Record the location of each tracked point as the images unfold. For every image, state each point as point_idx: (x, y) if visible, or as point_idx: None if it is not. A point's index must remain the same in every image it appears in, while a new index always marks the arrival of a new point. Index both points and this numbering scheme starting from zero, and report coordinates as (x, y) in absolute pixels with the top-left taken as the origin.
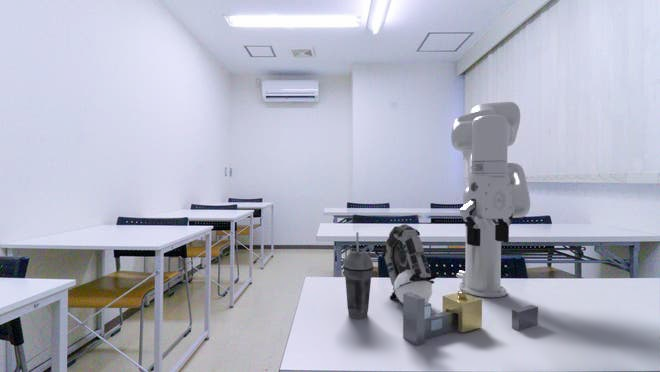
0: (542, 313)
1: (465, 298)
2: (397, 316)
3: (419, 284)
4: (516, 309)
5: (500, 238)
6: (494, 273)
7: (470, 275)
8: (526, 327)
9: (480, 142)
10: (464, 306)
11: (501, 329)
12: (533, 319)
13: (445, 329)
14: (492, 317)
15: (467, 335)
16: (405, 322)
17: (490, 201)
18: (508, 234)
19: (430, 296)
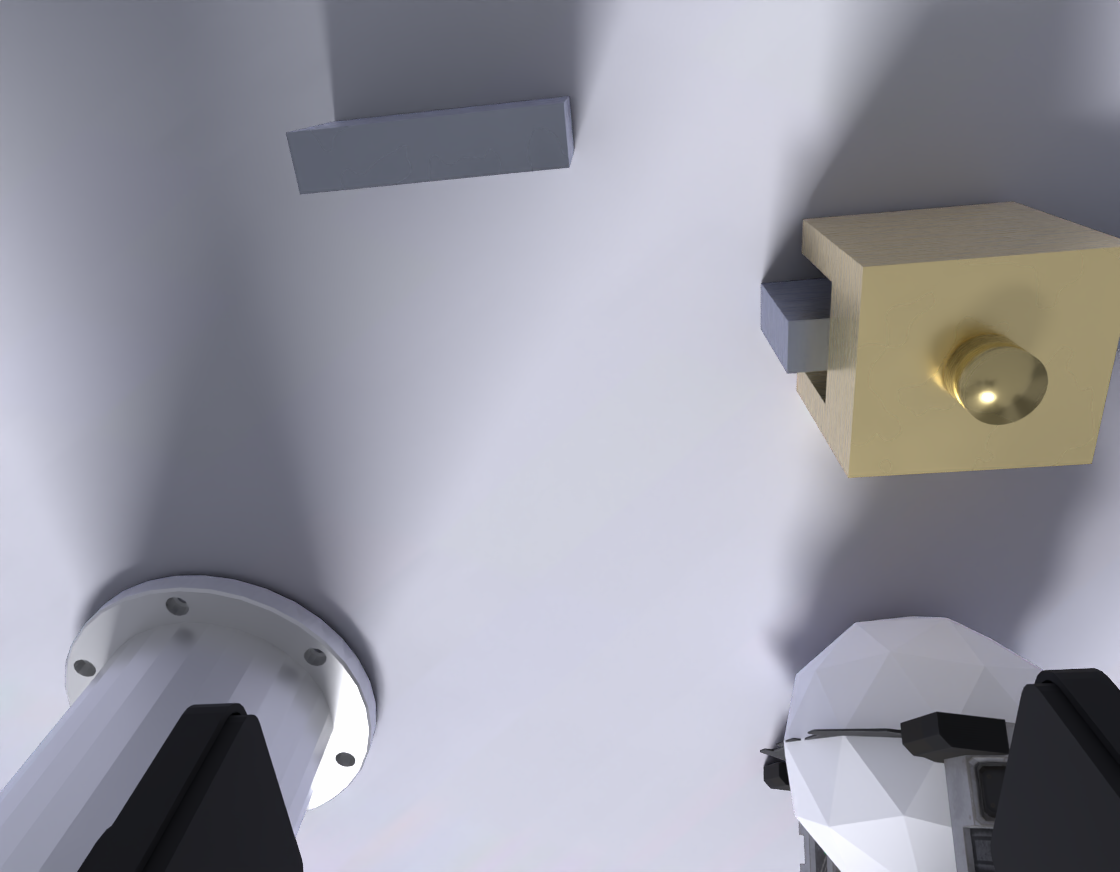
0: (124, 259)
1: (989, 335)
2: (1115, 575)
3: (1013, 718)
4: (526, 157)
5: (262, 842)
6: (137, 727)
7: (298, 798)
8: (472, 106)
9: None
10: (1092, 242)
11: (666, 162)
12: (375, 118)
13: None
14: (545, 342)
15: (977, 179)
16: None
17: None
18: (121, 830)
19: (839, 650)
